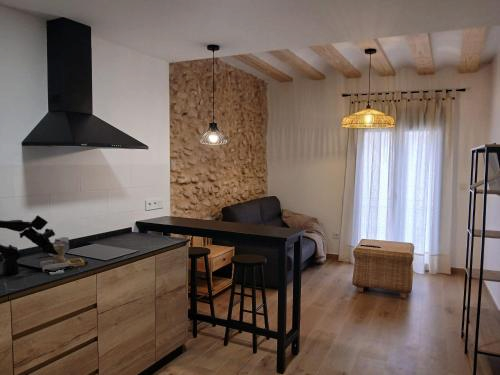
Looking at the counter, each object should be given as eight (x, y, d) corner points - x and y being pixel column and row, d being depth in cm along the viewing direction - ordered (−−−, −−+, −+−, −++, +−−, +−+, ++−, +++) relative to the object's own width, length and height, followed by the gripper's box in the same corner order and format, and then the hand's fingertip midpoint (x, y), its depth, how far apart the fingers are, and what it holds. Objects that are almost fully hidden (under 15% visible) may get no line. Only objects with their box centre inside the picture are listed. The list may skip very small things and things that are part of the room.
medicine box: (63, 249, 263) (63, 236, 262) (69, 249, 262) (68, 237, 261) (54, 252, 255) (54, 239, 255) (60, 252, 254) (59, 239, 253)
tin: (68, 252, 256) (68, 239, 255) (70, 253, 254) (70, 240, 253) (44, 256, 244) (44, 243, 243) (46, 257, 242) (46, 244, 241)
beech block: (55, 268, 221) (54, 246, 220) (53, 266, 225) (52, 244, 224) (64, 267, 224) (63, 245, 223) (62, 264, 228) (62, 243, 227)
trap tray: (70, 267, 223) (69, 264, 223) (66, 263, 231) (66, 259, 231) (84, 265, 228) (84, 262, 228) (80, 261, 236) (80, 258, 236)
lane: (42, 271, 215) (42, 266, 215) (40, 266, 223) (40, 261, 223) (69, 267, 223) (68, 262, 223) (65, 263, 231) (65, 258, 231)
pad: (50, 275, 209) (50, 274, 209) (48, 271, 215) (48, 270, 215) (64, 272, 213) (64, 271, 213) (62, 269, 219) (62, 268, 219)
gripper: (47, 228, 211) (70, 245, 218) (43, 222, 226) (64, 238, 233) (32, 244, 207) (55, 260, 214) (28, 237, 222) (50, 253, 230)
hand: (56, 252), depth 223 cm, fingers open, 9 cm apart
